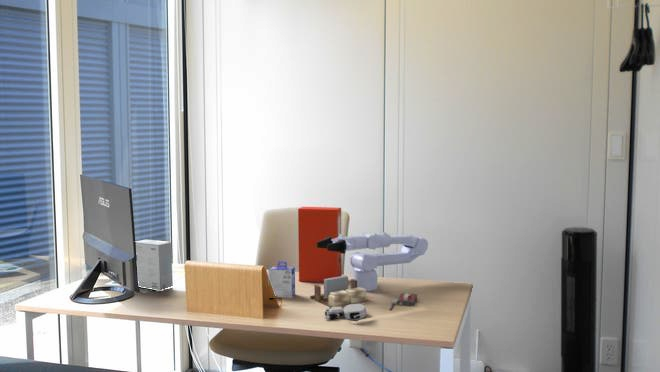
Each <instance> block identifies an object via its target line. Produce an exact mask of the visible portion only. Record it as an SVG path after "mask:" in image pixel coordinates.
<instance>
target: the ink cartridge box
mask: <svg viewBox="0 0 660 372" xmlns="http://www.w3.org/2000/svg"><path fill="white" fill-rule="evenodd" d="M287 263H288V261H281V260H280V261H278V262H277V266H271V267H270V268H268V281H269V280H270V283H271V285H272V287H273V290H274V292H275V295H276V296H277V297H276V298H288V299H292V298H294V297H295V296H296V268H295V267H293V266H291V267H290V266H287V265H288V264H287ZM282 264H283V265H282Z"/></svg>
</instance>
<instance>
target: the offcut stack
mask: <svg viewBox="0 0 660 372" xmlns="http://www.w3.org/2000/svg"><path fill="white" fill-rule="evenodd" d="M328 297H329V305H331V306H334V307H335V306H341V305H346V304H350V303H357V302H362V301H366V299H367V291H366V289H364V288H361V287H359V288H353V289H351V288H348V289H347V290H345V291H343V290H342V291H336V292H331V293H330V295H328ZM362 303H363V302H362ZM357 304H358V303H357ZM346 306H347V305H346ZM341 307H342V306H341Z"/></svg>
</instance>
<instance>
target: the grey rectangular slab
mask: <svg viewBox="0 0 660 372" xmlns="http://www.w3.org/2000/svg"><path fill="white" fill-rule="evenodd" d="M347 289H349V276H347V275H342V276H340V277H334V278H328V279H324V282H323V294H324V297H328V295H330V293H331V292H336V291H342V290H343V291H345V290H347Z"/></svg>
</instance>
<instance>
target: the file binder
mask: <svg viewBox="0 0 660 372" xmlns="http://www.w3.org/2000/svg"><path fill="white" fill-rule="evenodd" d="M297 218H298V220H297V224H298V225H297V226H298V229H297V230H298V237H297V238H298V281H299V282H307V283H310V282H311V283H324V279H328V278H334V277H340V276H343V275H342V274H343V273H342V267H343V265H342V253H340V252H336V251H328V250H327V249H326V248H317V242H319V241H321V240H324V239H325V238H327V237H328V236H331V239H335V238H338V237H339V234H342V207H327V206H325V207H323V206H302V207H300V208H298V209H297Z"/></svg>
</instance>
